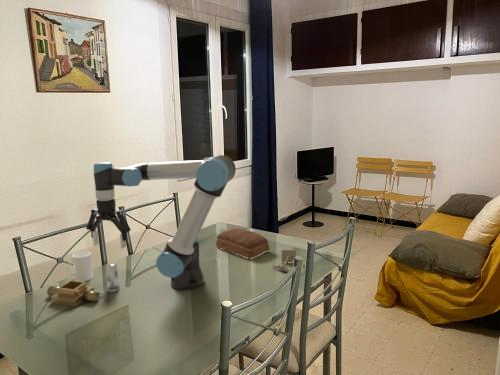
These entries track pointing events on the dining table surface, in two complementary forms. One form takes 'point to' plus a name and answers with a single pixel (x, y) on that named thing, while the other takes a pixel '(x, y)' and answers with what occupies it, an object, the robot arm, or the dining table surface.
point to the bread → (242, 242)
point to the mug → (81, 266)
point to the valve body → (72, 293)
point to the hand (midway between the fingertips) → (109, 246)
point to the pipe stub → (112, 277)
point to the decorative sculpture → (286, 258)
